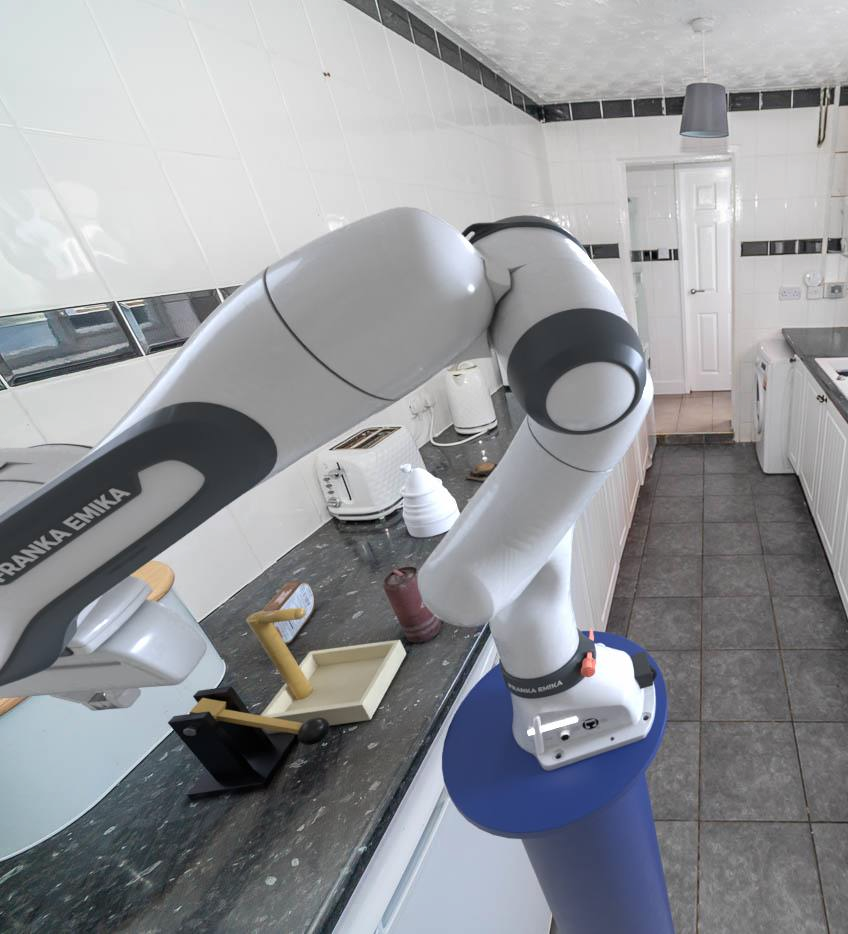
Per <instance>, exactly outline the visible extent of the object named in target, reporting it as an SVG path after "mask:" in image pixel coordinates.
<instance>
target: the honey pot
mask: <svg viewBox="0 0 848 934" xmlns="http://www.w3.org/2000/svg"><path fill="white" fill-rule="evenodd" d="M399 469H400V471H401V472H402V473H405V474H407V476H406V480H405V483H404V485H403V486H402V487H401V488H400V489H399V491H398V494H399V495H400V497H402V498H403V500H402V518H403V520H404V524H405V526H406V529H407V532H408V534H409V535H410V536H412V537H414V538H429V537H430V538H431V537H434V536H438V535H441V534H443V533H445V532H446V533H447V532H448V531H449V529H450V528H451V527H452V525H453V524H454V522H455V521H456V519H457V518H458V517H459V515H460V514H461V512H460V510H459V506H458V505H457V502H456V499H455V498H454V496H452V494H451V493H450V492H449V491H448V489H447V488H446V487H444V485H443V481H442V479H440V477H439V478H438V477H435V476H434V475H433V474H432V473H430V472H429V471H427V470H426V469H423V468H421V467H415V468H412V464H411V463H404V464H401V465H400V466H399Z"/></svg>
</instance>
